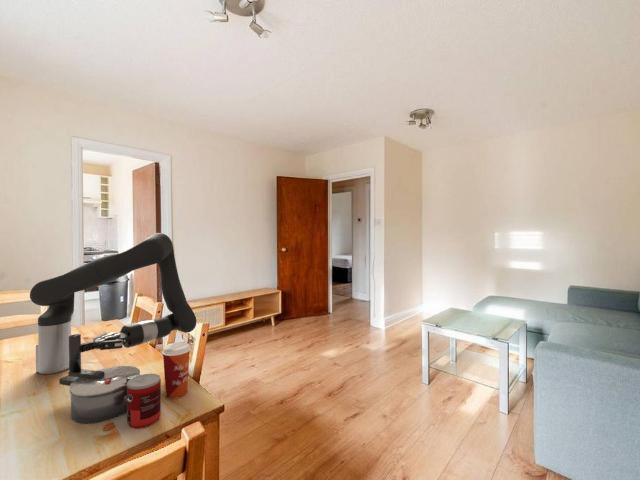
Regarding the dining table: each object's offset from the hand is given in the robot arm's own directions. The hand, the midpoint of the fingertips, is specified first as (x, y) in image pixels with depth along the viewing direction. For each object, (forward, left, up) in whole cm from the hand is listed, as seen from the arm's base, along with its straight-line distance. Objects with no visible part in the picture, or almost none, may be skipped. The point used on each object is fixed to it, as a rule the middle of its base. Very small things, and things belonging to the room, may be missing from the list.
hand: (79, 348), depth 92 cm
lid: (+10, -3, -8) cm, 13 cm away
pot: (+9, -2, -15) cm, 18 cm away
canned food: (+26, -8, -16) cm, 31 cm away
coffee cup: (+27, +6, -16) cm, 32 cm away
